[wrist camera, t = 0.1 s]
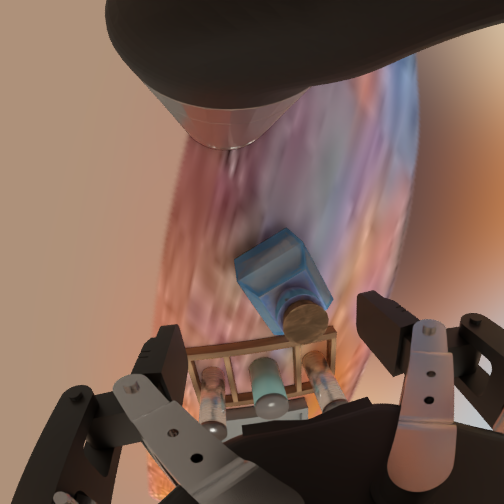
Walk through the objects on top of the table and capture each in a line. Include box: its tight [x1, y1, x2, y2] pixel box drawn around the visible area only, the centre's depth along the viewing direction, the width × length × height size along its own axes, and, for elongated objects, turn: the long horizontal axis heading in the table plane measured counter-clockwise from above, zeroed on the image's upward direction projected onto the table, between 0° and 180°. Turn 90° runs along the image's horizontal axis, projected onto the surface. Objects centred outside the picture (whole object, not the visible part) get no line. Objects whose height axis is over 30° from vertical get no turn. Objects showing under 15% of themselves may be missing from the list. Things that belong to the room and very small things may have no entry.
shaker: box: [249, 358, 289, 420], centre depth 30 cm, size 4×4×7 cm
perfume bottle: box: [234, 228, 333, 345], centre depth 24 cm, size 6×6×12 cm
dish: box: [220, 397, 308, 443], centre depth 35 cm, size 11×14×2 cm
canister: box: [302, 351, 349, 413], centre depth 29 cm, size 3×3×10 cm
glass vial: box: [199, 367, 227, 441], centre depth 28 cm, size 3×3×10 cm
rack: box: [185, 326, 337, 407], centre depth 32 cm, size 9×18×2 cm, turn 97°
